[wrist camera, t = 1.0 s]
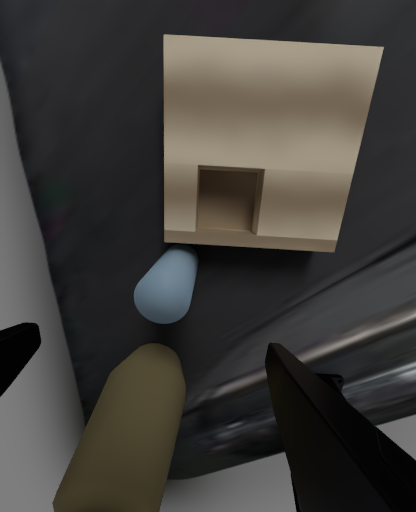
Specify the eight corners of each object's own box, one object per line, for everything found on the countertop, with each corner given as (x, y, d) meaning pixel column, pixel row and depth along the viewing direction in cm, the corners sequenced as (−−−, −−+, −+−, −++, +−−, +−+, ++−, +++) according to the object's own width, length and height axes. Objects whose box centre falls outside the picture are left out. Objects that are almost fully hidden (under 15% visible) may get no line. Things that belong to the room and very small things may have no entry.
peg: (197, 277, 21) (189, 325, 13) (163, 275, 21) (135, 322, 13) (199, 244, 20) (191, 274, 12) (163, 242, 20) (132, 271, 12)
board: (315, 244, 19) (334, 252, 16) (171, 235, 19) (164, 242, 16) (351, 75, 16) (383, 47, 13) (172, 64, 16) (163, 34, 13)
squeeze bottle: (113, 338, 23) (-199, 781, 5) (182, 329, 22) (80, 785, 5) (132, 392, 25) (-47, 830, 8) (195, 385, 24) (157, 838, 7)
